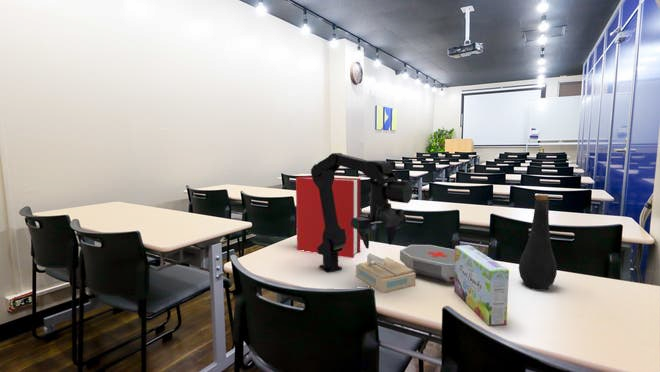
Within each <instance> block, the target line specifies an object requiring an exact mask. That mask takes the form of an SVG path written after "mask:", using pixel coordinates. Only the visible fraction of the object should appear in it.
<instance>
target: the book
mask: <svg viewBox="0 0 660 372" xmlns="http://www.w3.org/2000/svg"><path fill="white" fill-rule="evenodd" d="M361 183H362V182H361V178H359V177H356V178H355V177H352V178H351V177H334V181H333V184H332V190H333V196H334V202H335V208H336V214H337V220H338V225H339V226H340V228H341V229H345V235H346V238H347V239H346V244H345V245H344V247H343V250H342V251H339V252H338V257H345V258H351V259H354V258H355V257H354V256H355V254H356V253H361V236H360V234H359V232H358V230H357V229H354V227H351V220H352V218H356V217H361ZM295 199H296V200H295V202H296V204H295V206H296V207H295V208H296V210H295V211H296V249H297V251H299V250H304V251H303V252H306V251H310V252H309V253H314V252H316V254H318V250H317V248H318V247H319V246H320V245H321V244H322V242H323V236H322V235H323V232H324V229H325V223H324V217H323V211H322V205H321V199H320V193H319V189H318V187H317V186H316V184H315V183H314V182H313V178H312V176H298V177H295Z"/></svg>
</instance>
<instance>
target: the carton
mask: <svg viewBox="0 0 660 372" xmlns="http://www.w3.org/2000/svg"><path fill="white" fill-rule="evenodd" d="M355 277H357V278H359V279H360V280H361V281H363V282H364V283H366V284H368V285H370V286H372V288H374V289H375V290H377V291H378V292H381V293H382V294H386V293H389V292H392V291H397V290H402V289H405V288H410V287H414V286H416V274H415V273H414V272H410V273H406V274H401V275H397V276H394V274H392V273H390V272H389V271H387V270H385V269H383V268H381V267H379V266H377V265H375V264H371V265H368V264H367V261H365V262H361V263H358V264H356V265H355Z"/></svg>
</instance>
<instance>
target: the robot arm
mask: <svg viewBox="0 0 660 372" xmlns="http://www.w3.org/2000/svg"><path fill="white" fill-rule="evenodd" d="M340 167H343V168H347V169H349V170H350V169H351V170H355V171H358V172H361V173H363V175H364V176H366V177H368V178H369V179H368V180H367V181H366V182H365V183H364V185H365V186H370V201H368V202H367V205H368V206H370V209H369V210H370V213H368V214H367V217H368V218H366V217H363V216H360V217H356V218H352V220H351V227H354V229H357V230H358V232H359V234H360V239H361V240H362V242H363V245H364V247H365V249H369V247H370V233H371V231H372V229H370V228H371V226H372V225H378V224H383V225H384V226H385V227H386V235H387V237H386V238H387V243H388V245H392V243H393V241H394V238H395V237H396V233H397V232H398V230H399V229H400V228H402V227H403V226H404V225H405V224H407V217H406V215H405V210H403V209H401V208H400V209H399V208H398V209H396V210H395V209H394V210H393V209H392V203H390V202H395V203H402V204H408V203H410V202H411V200H412V197H413V190H412V187H411V186H410V182H409V180H399V178H398V177H397V175H396V174H395V172H394V170H393V168H392V165H391V163H390V162H389V161H387V160H367V159H364V158H363V159H362V158H359V157H356V156H350V155H347V154H343V153H341V152H333V153H331V154H329V155H328V156H327V157H326V158H324V159H322V160H320V161H319V162H318V163H316V164H314V165H313V166H312V167H311V168H310V174H311V177H312V178H313V182H314V183H315V184H316V186H317V187H318V189H319V193H320V199H321V205H322V211H323V217H324V223H325V229H324V232H323V235H322V236H323V242H322V244H321V245H320V246H319V247H318V248H317V250H318V253H317V254H319V255H322V264H320V265H319V268H320V269H322V271H325V272H326V273H331V272H334V271H338V270H339V271H340V270H342V266H340V265H339V256H338V252H339V251H342V250H343V247H344V245H345V244H346V239H347V238H346V235H345V229H341V228H340V226H339V225H338V220H337V214H336V208H335V202H334V196H333V190H332V184H333V181H334V178H335V173H336V172H337V171H338V170H339V169H340ZM389 201H390V202H389Z"/></svg>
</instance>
